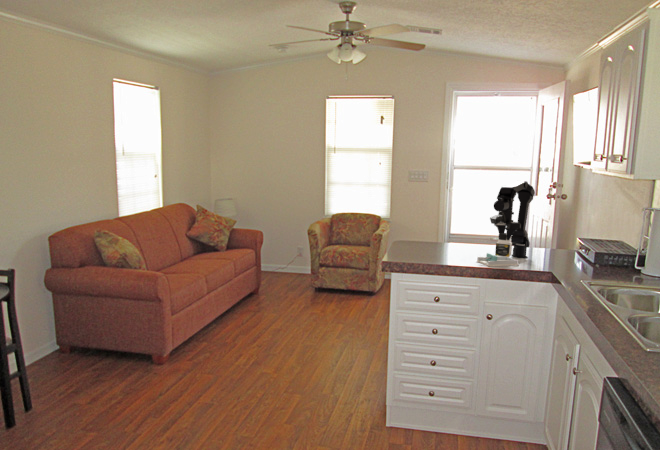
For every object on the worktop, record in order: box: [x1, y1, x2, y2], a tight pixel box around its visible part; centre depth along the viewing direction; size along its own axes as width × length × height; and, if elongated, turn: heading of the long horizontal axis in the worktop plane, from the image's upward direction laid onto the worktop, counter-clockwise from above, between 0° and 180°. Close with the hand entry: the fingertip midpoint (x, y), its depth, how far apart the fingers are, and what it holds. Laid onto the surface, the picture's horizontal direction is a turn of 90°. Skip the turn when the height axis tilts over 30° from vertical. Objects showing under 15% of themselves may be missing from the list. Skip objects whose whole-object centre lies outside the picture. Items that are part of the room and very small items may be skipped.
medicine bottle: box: [494, 232, 513, 258], centre depth 270 cm, size 7×7×12 cm
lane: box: [476, 256, 519, 267], centre depth 270 cm, size 17×12×2 cm
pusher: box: [477, 252, 497, 261], centre depth 268 cm, size 8×8×4 cm
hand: (504, 239), depth 270 cm, fingers closed on medicine bottle, 6 cm apart
